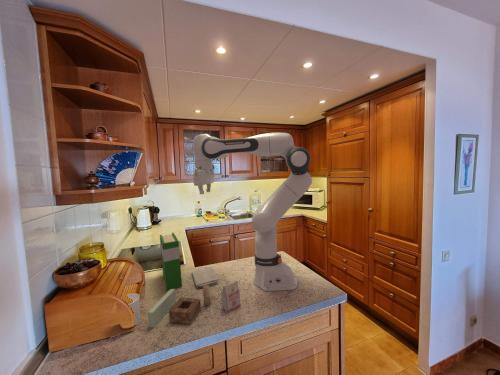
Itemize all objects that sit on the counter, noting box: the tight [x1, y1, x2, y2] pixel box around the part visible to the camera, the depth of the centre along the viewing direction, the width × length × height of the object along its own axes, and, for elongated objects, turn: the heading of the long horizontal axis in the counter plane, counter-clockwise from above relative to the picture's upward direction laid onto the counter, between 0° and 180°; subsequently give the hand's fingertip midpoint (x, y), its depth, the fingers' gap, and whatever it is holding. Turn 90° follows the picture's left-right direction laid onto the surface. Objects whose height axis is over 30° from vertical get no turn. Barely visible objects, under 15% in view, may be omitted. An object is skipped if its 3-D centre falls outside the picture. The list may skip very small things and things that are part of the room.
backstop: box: [147, 289, 177, 328], centre depth 90 cm, size 2×16×6 cm, turn 169°
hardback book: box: [159, 232, 183, 292], centre depth 115 cm, size 18×7×24 cm, turn 27°
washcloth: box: [190, 267, 219, 290], centre depth 117 cm, size 12×18×3 cm, turn 24°
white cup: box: [126, 292, 141, 326], centre depth 85 cm, size 8×8×10 cm
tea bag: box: [221, 281, 242, 313], centre depth 92 cm, size 4×7×10 cm, turn 126°
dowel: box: [202, 285, 212, 307], centre depth 94 cm, size 3×3×8 cm
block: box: [168, 297, 202, 325], centre depth 88 cm, size 9×9×4 cm
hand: (205, 193), depth 113 cm, fingers open, 8 cm apart
